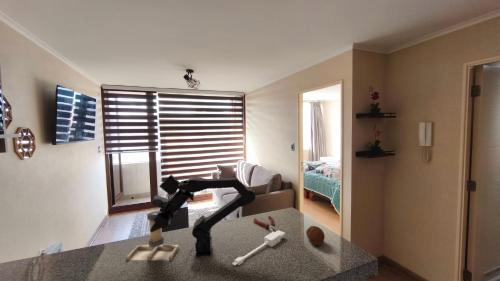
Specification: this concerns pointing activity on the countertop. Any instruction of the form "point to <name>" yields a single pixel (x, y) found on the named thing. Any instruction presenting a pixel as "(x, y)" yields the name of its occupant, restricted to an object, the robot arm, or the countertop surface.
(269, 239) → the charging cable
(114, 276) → the countertop surface
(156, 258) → the divided tray
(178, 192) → the robot arm
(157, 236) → the bobbin
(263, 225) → the pliers
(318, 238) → the potato
